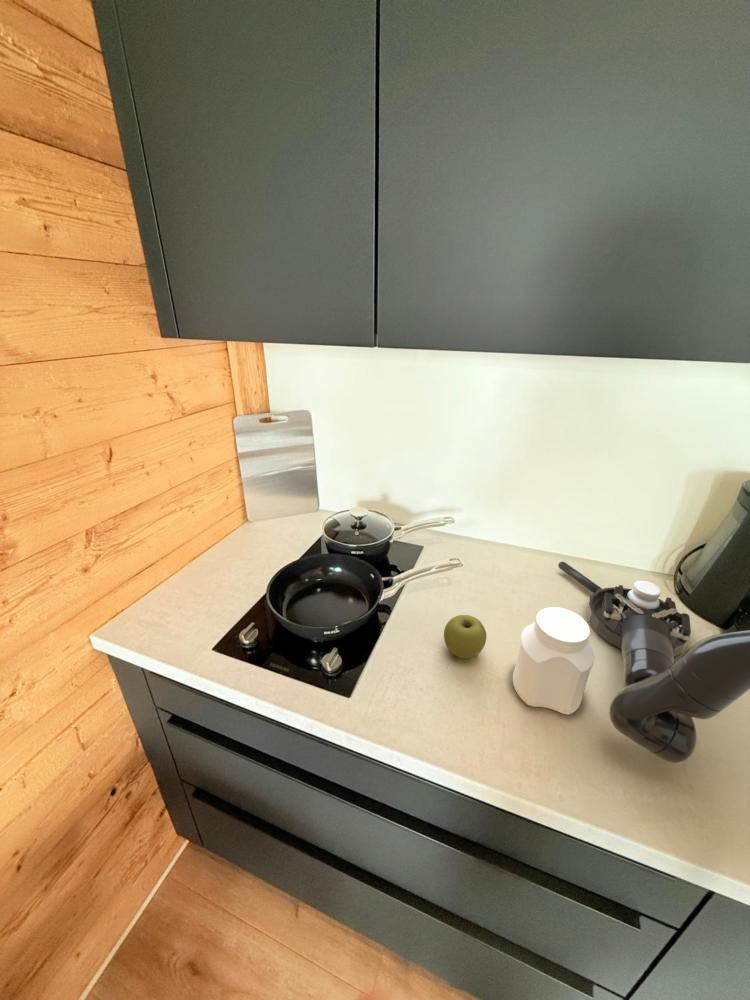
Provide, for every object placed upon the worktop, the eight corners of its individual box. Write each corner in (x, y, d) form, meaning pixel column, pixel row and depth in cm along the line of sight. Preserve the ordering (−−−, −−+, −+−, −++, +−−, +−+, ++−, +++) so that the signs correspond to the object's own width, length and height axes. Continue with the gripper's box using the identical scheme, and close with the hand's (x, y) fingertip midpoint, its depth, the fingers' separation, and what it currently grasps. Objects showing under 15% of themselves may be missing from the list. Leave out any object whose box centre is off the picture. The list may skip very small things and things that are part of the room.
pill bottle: (628, 635, 86) (642, 597, 82) (613, 616, 91) (625, 579, 87) (655, 634, 86) (670, 596, 82) (638, 615, 92) (652, 578, 87)
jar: (577, 674, 78) (596, 611, 71) (584, 719, 70) (607, 653, 63) (512, 660, 81) (524, 598, 74) (512, 702, 73) (526, 637, 66)
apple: (483, 669, 79) (488, 641, 76) (440, 662, 81) (443, 634, 78) (483, 640, 86) (487, 613, 83) (443, 634, 87) (446, 607, 84)
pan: (626, 590, 100) (630, 579, 98) (705, 644, 85) (711, 632, 83) (567, 610, 94) (570, 599, 92) (641, 672, 79) (646, 659, 77)
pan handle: (561, 565, 107) (563, 559, 106) (604, 596, 96) (606, 589, 95) (555, 567, 106) (557, 561, 105) (598, 599, 95) (600, 591, 94)
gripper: (703, 645, 69) (690, 590, 82) (606, 617, 75) (609, 570, 88) (688, 678, 73) (678, 619, 86) (596, 648, 79) (600, 598, 92)
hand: (643, 594), depth 87 cm, fingers open, 8 cm apart
